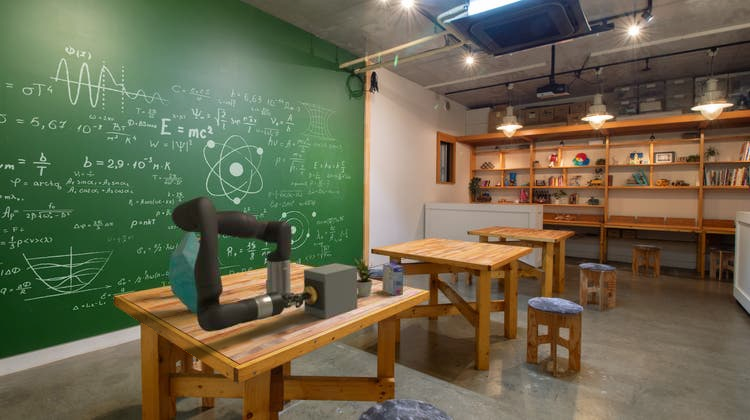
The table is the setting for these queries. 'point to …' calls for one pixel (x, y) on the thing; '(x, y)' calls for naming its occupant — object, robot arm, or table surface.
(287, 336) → the table surface
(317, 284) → the collar
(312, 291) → the peg
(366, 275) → the house plant
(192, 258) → the crystal
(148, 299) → the table surface
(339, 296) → the housing
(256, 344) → the table surface
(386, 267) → the ink cartridge box
